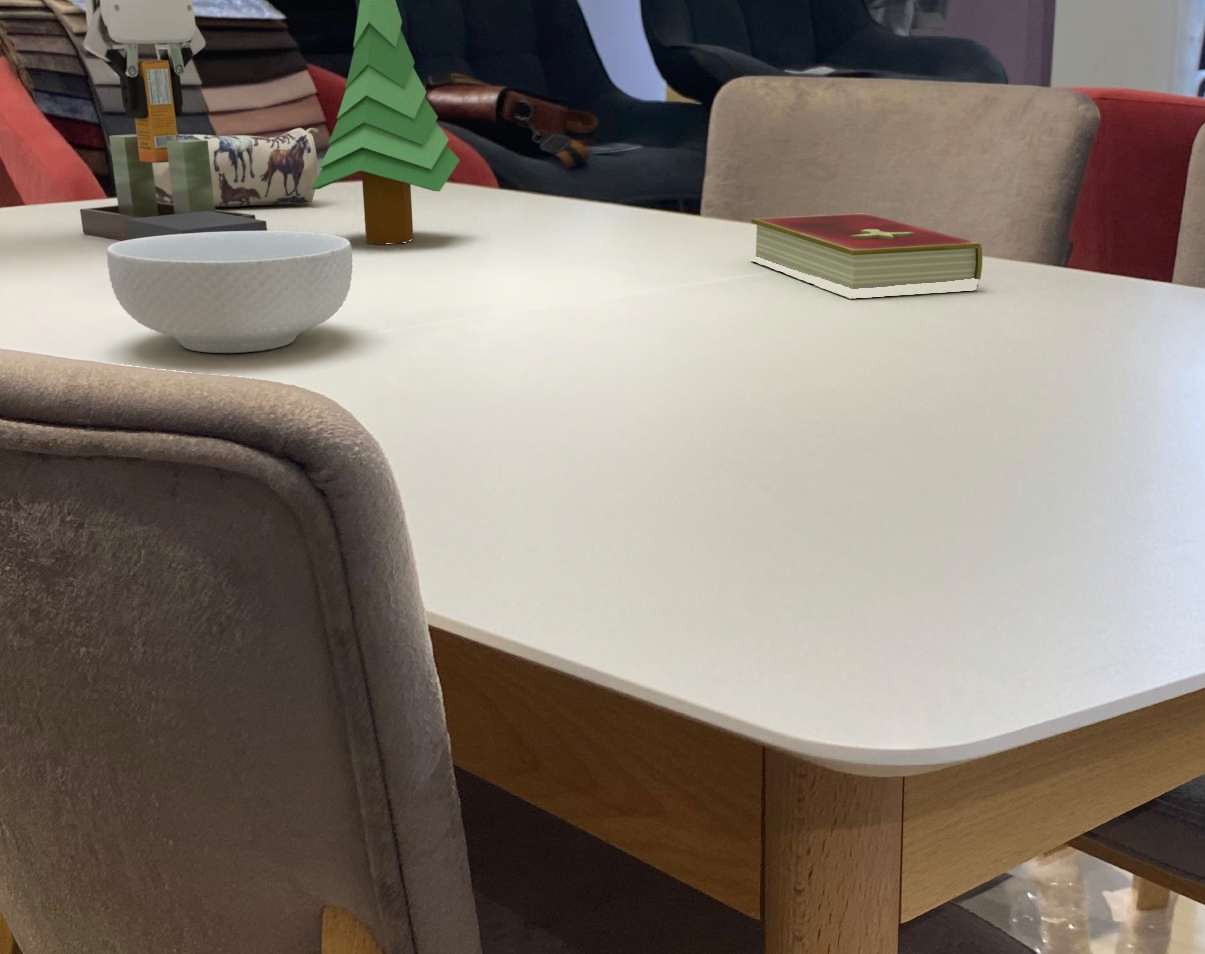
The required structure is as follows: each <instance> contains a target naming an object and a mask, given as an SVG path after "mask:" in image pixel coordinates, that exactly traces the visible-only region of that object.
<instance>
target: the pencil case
mask: <svg viewBox="0 0 1205 954" xmlns="http://www.w3.org/2000/svg"><path fill="white" fill-rule="evenodd" d="M317 133H319V129H318V128H314V127H309V128H308V129H307V130H305V129H304V128H302V127H297V128H294V129H291V130H289V131H287V132H285V133H282V134H281V133H280V134H277V135H273V136H272V135H271V136H256V135H244V134H243V135H242V134H241V135H211V134H179V133H177V137H178V140H185V139H196V140H207V141H208V149H209V158H210V168H211V178H212V187H213V197H214V206H215V208H230V207H232V208H234V207H248V206H252V205H257V206H267V205H277V204H288V203H290V204H307V203H312V202H313V200H314V196H315V193H316V189H311V187H312V186H313V184H314V182H315V180H316V179H317V177H318V157H317V150H316V144H315V140H314V135H315V134H317ZM152 165H153V174H154V182H155V191H156V199H157V202H163V203H170V204H173V196H172V187H171V178H170V170H169V162H166V163H152ZM310 189H311V190H310Z"/></svg>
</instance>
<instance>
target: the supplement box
mask: <svg viewBox="0 0 1205 954" xmlns="http://www.w3.org/2000/svg"><path fill="white" fill-rule="evenodd" d="M138 76H139V77H143V79H144V82H145V90H146V99H147V107H148V117H147V118H146V119H137V118H134V123H135V130H136V131H135V132H136V134H137V140H138V149H139V159H140V161H143V162H152V163H166V162H169V161H168V152H167V143H166V141H172V140H178V137H177V134H178V128H177V119H176V117H175V111H174V103H173V95H172V86H171V77H170V69H169V63H168V60H158V59H141V60H139V59H138Z"/></svg>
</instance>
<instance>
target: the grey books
mask: <svg viewBox="0 0 1205 954" xmlns="http://www.w3.org/2000/svg"><path fill="white" fill-rule="evenodd" d="M127 224H128V232H129V239H130V240H131V239H137V238H145V237H153V236H163V235H175V234H188V233H204V232H229V231H268V225H267V220H264V219H257V218H255V219H252V218H246V217H240V216H235V215H229V214H223V213H217V212H212V211H204V212H194V213H183V214H173V215H163V216H153V217H143V218H133V219H127Z"/></svg>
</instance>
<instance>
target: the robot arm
mask: <svg viewBox="0 0 1205 954" xmlns="http://www.w3.org/2000/svg"><path fill="white" fill-rule="evenodd" d="M84 4H85V16H86V17H85V18H86V24H87V25H86V26H87V31H86V34H85V37H84V40H83V42H82V46H83V48H84V49H85V50H86V51H88V52H89V53H91V54H93V55H94V56H96V57H97V58H100V59H101V60H102V61H103V62H104V63H105V64H106V65H107V66H108V67H109V68H110V69H111V70H112V72H113V74H114V76H116V77H117V78H119V84H120V92H121V99H122V100H121V101H122V106H123V108H124V110H125V115H126V117H127V118H128V119H135V118H137V119H146V118H147V117H148V107H147V99H146V90H145V82H144V79H143V77H139V76H138V60H139V45H142V44H143V45H147V44H148V45H149V44H154V49H155V52H156V57H157V58H156V59H157V60H168V63H169V69H170V77H171V86H172V95H173V103H174V111H175V118H180V117H182V116H183V105H184V102H183V101H184V100H183V92H182V83H181V76H183V75H184V74H185V71H186V70H185V68H186V67H187V65H188V64H189V62H190V61H191V60H192V58H193V56H195V55H196V54H198V53H199V52H200V51H201V50H202V49H203V48H205V47H206V45H207V43H206V40H205V38H204V36H203V34H202V32H201V31H200V29H199V27H198V25H197V23H196V18H195V9H194V1H193V0H84ZM181 43H182V44H181ZM108 44H109V45H108ZM111 44H112V47H111V46H110V45H111ZM180 44H181V45H180Z"/></svg>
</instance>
